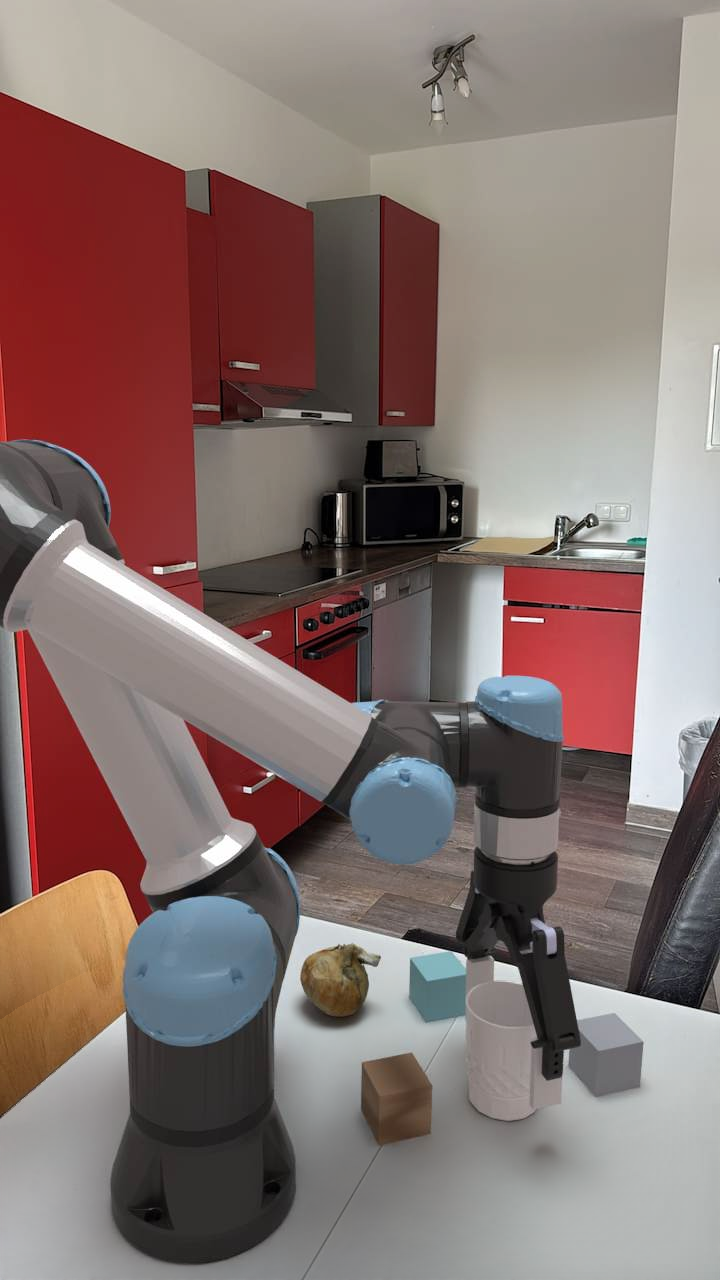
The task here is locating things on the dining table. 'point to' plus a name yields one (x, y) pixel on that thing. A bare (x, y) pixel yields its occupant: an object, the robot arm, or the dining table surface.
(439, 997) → the dusty teal block
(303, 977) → the onion
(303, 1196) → the dining table surface
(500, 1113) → the white cup
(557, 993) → the robot arm
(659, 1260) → the dining table surface
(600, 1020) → the slate grey block
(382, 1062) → the walnut block
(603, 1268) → the dining table surface
